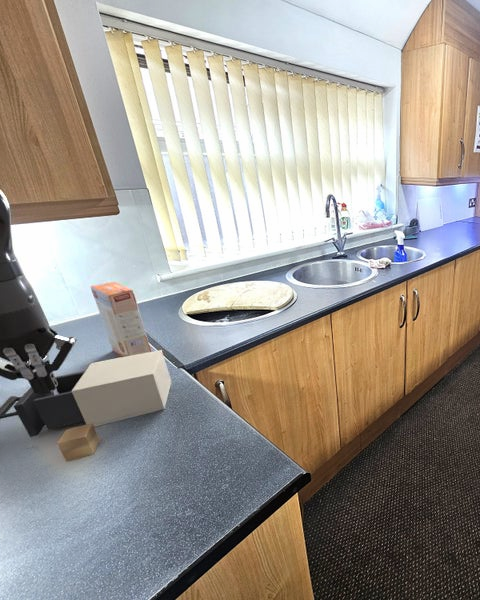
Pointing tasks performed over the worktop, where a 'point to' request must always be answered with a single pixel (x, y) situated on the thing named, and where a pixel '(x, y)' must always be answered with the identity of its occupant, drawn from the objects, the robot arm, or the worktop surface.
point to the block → (78, 442)
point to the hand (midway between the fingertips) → (48, 392)
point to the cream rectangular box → (123, 388)
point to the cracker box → (121, 319)
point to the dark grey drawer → (46, 406)
